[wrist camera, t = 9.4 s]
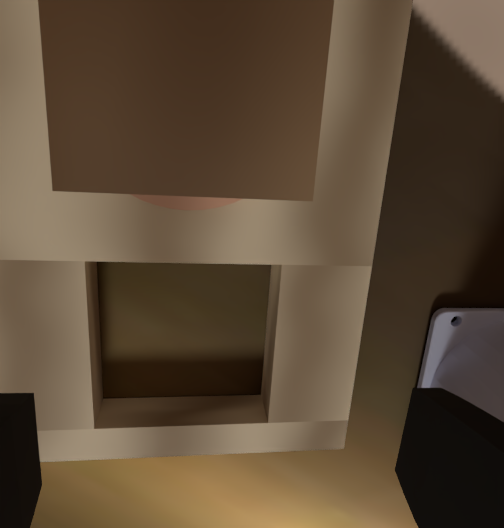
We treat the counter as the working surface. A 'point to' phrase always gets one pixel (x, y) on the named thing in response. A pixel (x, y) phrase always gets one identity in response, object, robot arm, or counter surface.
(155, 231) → the holder board
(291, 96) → the walnut block
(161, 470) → the counter surface
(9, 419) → the robot arm
